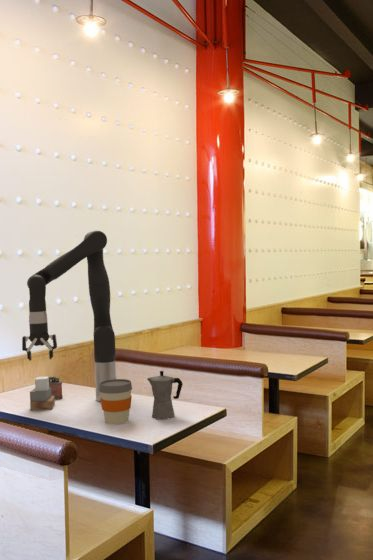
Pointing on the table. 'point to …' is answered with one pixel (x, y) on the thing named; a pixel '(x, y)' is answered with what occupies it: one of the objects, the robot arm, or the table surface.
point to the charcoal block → (40, 395)
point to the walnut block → (43, 404)
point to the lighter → (55, 387)
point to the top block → (42, 383)
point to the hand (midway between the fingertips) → (40, 359)
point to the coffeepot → (163, 395)
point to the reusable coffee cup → (116, 400)
